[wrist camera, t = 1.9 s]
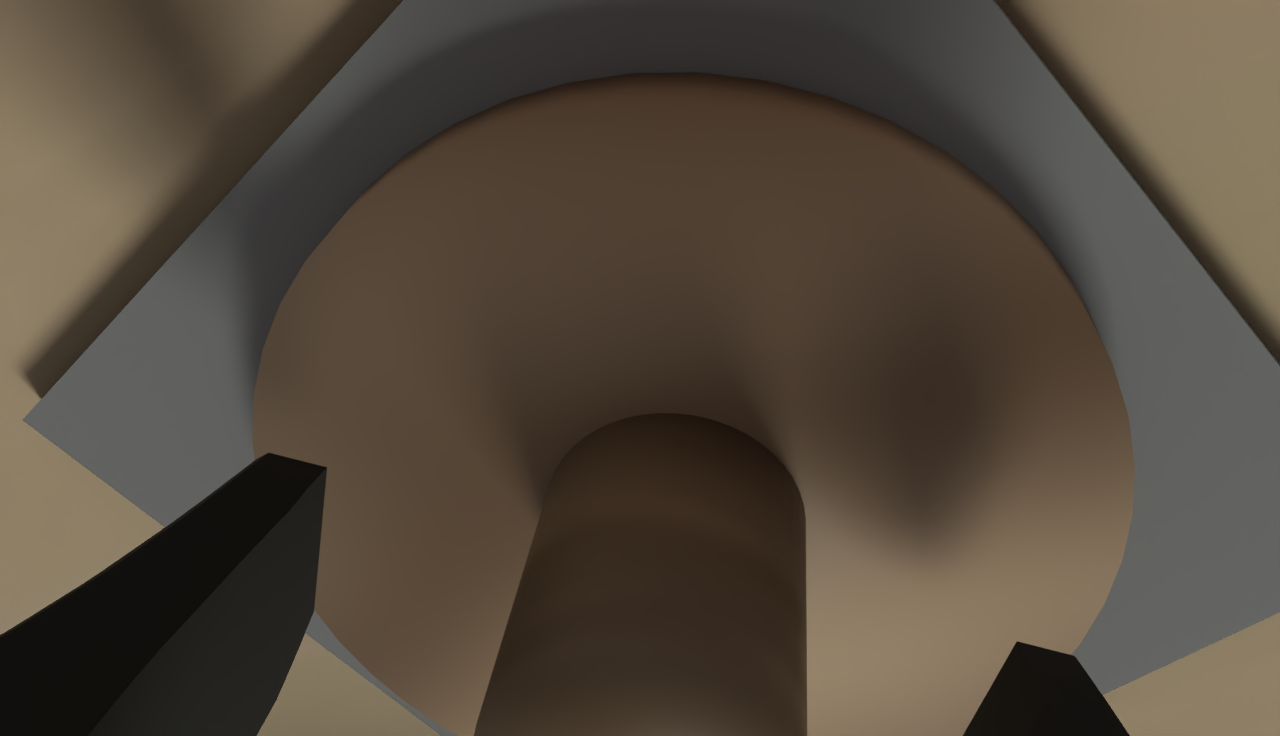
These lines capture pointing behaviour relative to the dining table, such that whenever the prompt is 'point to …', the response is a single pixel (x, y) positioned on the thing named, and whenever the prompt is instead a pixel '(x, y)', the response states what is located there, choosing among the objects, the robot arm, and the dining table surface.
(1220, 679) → the dining table surface
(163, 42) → the dining table surface
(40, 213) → the dining table surface
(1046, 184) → the mat
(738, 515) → the lid
